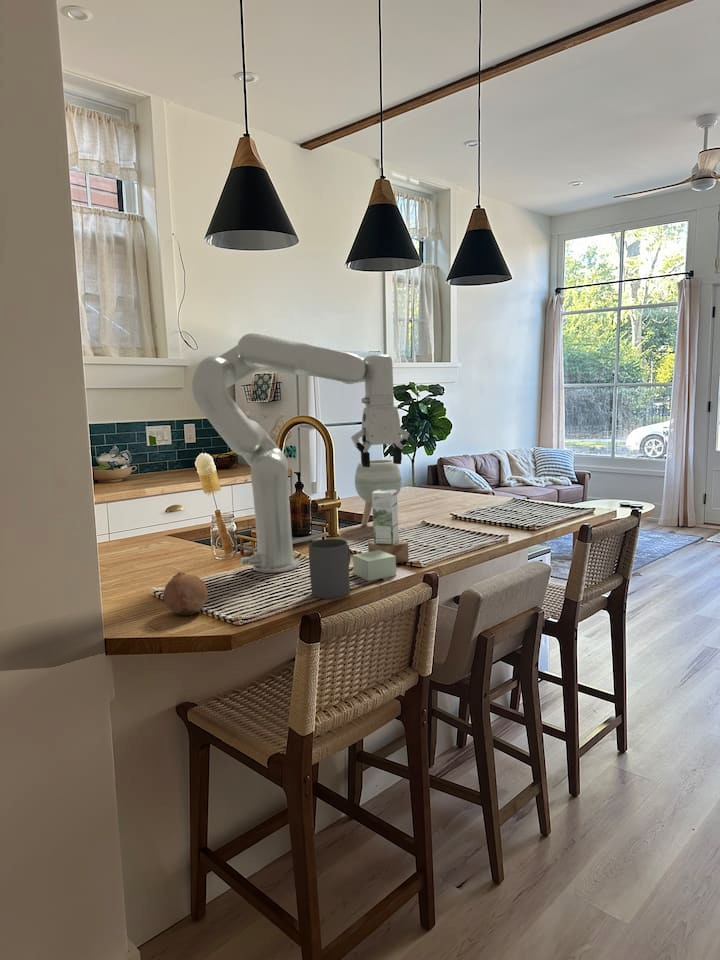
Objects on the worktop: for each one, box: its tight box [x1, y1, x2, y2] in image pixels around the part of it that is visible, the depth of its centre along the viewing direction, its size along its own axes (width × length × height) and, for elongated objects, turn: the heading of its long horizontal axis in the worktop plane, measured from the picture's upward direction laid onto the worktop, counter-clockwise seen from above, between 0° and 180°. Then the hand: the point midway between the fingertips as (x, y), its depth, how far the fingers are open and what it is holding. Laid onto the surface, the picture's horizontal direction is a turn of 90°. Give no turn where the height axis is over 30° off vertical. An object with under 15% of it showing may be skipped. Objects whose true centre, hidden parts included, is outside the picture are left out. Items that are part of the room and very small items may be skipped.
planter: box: [354, 459, 402, 526], centre depth 227 cm, size 16×16×22 cm
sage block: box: [352, 550, 397, 582], centre depth 167 cm, size 8×8×5 cm
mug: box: [308, 538, 351, 600], centre depth 155 cm, size 14×9×12 cm
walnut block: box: [367, 539, 410, 564], centre depth 180 cm, size 8×8×5 cm
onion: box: [162, 571, 209, 617], centre depth 144 cm, size 10×9×10 cm
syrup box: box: [371, 490, 400, 545], centre depth 179 cm, size 6×6×14 cm
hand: (381, 465), depth 178 cm, fingers open, 9 cm apart
